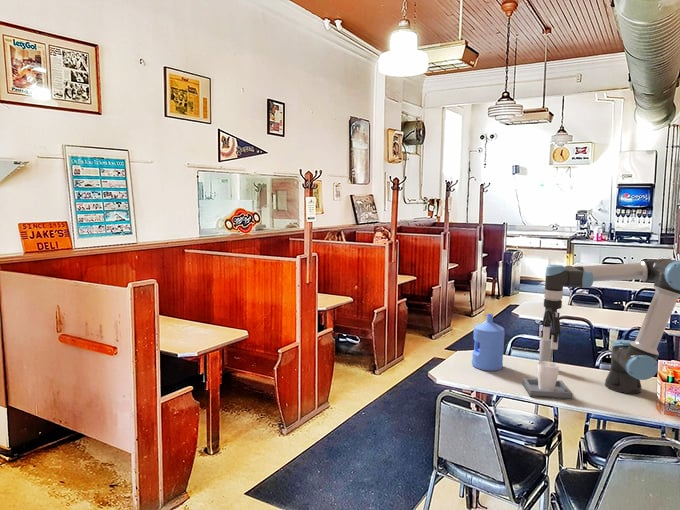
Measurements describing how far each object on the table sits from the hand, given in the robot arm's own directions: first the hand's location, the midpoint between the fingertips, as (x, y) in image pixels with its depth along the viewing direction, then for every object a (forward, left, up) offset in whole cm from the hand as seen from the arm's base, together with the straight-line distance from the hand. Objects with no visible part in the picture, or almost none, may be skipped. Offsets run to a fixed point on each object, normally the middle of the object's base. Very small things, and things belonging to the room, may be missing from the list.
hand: (549, 344), depth 230 cm
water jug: (+22, -31, -23) cm, 44 cm away
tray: (0, 0, -22) cm, 22 cm away
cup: (0, 0, -22) cm, 22 cm away
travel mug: (-8, -34, -23) cm, 42 cm away
